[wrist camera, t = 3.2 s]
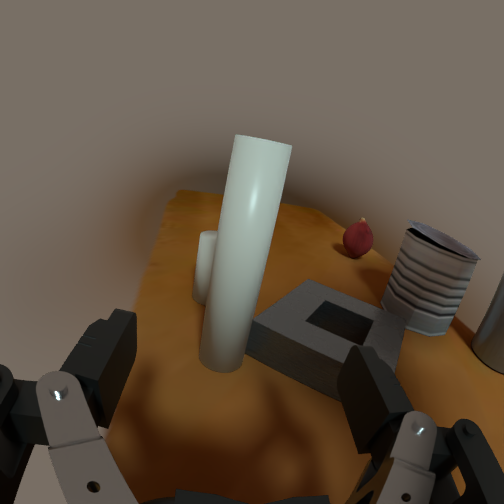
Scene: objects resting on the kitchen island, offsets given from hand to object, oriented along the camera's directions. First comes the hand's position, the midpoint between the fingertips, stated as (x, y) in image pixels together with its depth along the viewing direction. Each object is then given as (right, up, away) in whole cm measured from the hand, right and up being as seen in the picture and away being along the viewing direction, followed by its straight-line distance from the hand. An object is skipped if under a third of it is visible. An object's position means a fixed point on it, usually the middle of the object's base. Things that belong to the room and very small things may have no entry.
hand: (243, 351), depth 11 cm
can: (+23, -5, +28) cm, 37 cm away
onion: (+19, +2, +46) cm, 50 cm away
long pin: (-2, -5, +14) cm, 15 cm away
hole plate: (+8, -6, +17) cm, 20 cm away
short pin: (-4, -1, +22) cm, 23 cm away
